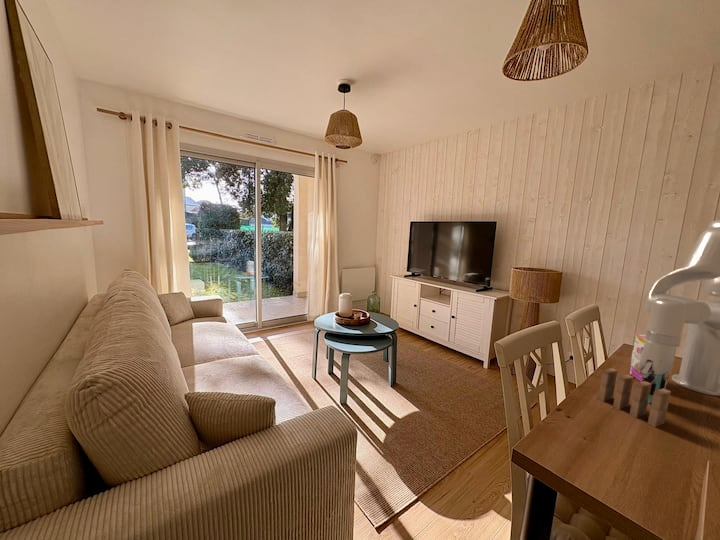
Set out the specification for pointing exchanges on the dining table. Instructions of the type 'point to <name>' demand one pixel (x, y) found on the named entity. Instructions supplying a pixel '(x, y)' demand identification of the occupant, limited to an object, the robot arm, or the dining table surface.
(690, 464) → the dining table surface
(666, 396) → the domino
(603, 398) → the domino
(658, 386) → the teal domino
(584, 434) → the dining table surface
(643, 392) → the domino
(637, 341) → the candy bar box
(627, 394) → the domino
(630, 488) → the dining table surface
